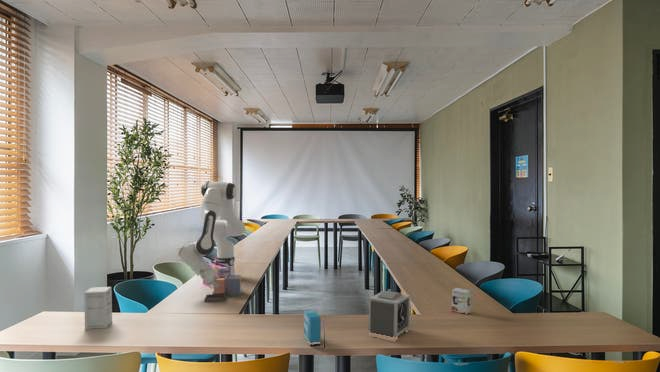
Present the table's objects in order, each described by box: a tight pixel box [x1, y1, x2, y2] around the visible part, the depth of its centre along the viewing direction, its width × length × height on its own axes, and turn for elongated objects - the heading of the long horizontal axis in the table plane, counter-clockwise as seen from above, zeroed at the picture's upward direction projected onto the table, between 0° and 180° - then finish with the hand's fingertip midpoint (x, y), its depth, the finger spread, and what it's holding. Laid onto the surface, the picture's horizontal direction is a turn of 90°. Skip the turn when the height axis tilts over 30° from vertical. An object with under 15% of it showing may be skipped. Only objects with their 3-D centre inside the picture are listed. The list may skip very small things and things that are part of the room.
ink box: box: [451, 287, 472, 312], centre depth 238 cm, size 9×5×12 cm, turn 47°
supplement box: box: [83, 286, 113, 330], centre depth 212 cm, size 10×9×17 cm
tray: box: [204, 293, 227, 303], centre depth 257 cm, size 11×9×2 cm
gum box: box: [202, 261, 231, 291], centre depth 287 cm, size 24×8×14 cm, turn 41°
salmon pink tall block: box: [213, 278, 226, 294], centre depth 268 cm, size 6×3×9 cm, turn 98°
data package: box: [303, 309, 322, 343], centre depth 195 cm, size 12×4×12 cm, turn 16°
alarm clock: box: [368, 290, 411, 337], centre depth 206 cm, size 18×13×18 cm
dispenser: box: [212, 274, 242, 297], centre depth 269 cm, size 16×10×10 cm, turn 98°
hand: (218, 284), depth 268 cm, fingers open, 8 cm apart
